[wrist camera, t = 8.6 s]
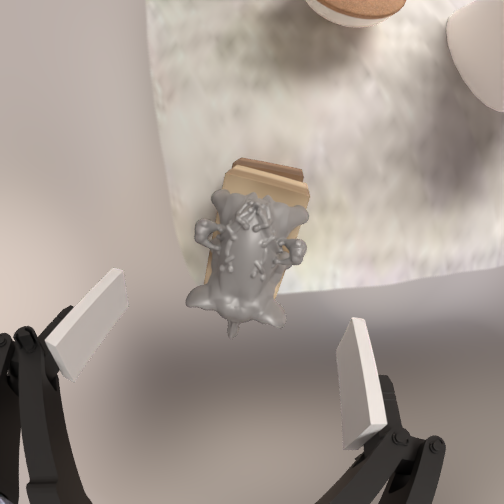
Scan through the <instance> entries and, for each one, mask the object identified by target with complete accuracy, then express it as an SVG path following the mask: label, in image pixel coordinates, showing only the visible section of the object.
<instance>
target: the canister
mask: <svg viewBox="0 0 504 504" xmlns="http://www.w3.org/2000/svg"><path fill="white" fill-rule="evenodd" d="M446 35H447V42H448V48H449V50H450V53H451V56H452V59H453V62H454V64H455V66H456V68H457V70H458V71H459V73H460V75H461V77H462V79H463V81H464V82H465V83H466V85H467V86H468V87H469V89H470V90H471V91H472V93H473V94H474V95H475V96H476V97H477V98H478V99H479V100H480V101H481V102H483V103H484V104H485V105H486V106H487V107H489V108H491V109H493V110H495V111H497V112H504V0H475V1H473V2H471V3H469V4H467V5H466V6H464V7H462V8H460V9H458V10H456V11H455V12H454V13H453V14H452V15H451V16H450V17H449V18H448V23H447V28H446Z"/></svg>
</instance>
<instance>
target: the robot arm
mask: <svg viewBox="0 0 504 504" xmlns="http://www.w3.org/2000/svg"><path fill="white" fill-rule="evenodd" d="M128 307H129V304H128V298H127V291H126V283H125V276H124V270H122V269H118V268H114V267H113V268H112V269H111V270H110V271H109V272H108V273H107V274H106V275H105V276H104V277H103V278H102V279H101V280H100V281H99V282H98V283H97V284H96V285H95V286H94V287H93V288H92V289H91V290H90V291H89V292H88V293H87V294H86V295H85V296H84V297H83V298H82V299H81V300H80V301H79V303H78V304H77V305H76V306H75V307H73V306H71V305H70V306H69V307H67V308H65V309H63V310H62V311H61V312H60V313H59V314H58V315H57V317H56V318H55V319H54V320H53V322H51V323H50V324H49V325H48V326H47V328H46V329H45V330H44V331H43V332H42V333H41V334H40V335H39V336H38V337H37V335H36V333H35V331H34V329H33V328H32V327H29V326H24V327H21V328H19V329H18V330H17V331H16V332H15V334H14V337H13V338H14V340H15V341H13V340H12V339H11V336H10V335H8V334H7V333H1V334H0V504H18V500H19V445H20V432H21V430H22V439H23V445H24V452H25V457H26V463H27V467H28V472H29V477H30V482H29V483H28V484H27V486H26V489H27V495H28V498H29V501H30V504H92V502H91V501H90V499H89V498H88V497H87V496H86V494H85V492H84V489H83V486H82V483H81V480H80V477H79V474H78V471H77V468H76V465H75V461H74V458H73V454H72V450H71V446H70V442H69V438H68V434H67V430H66V424H65V419H64V413H63V408H62V401H61V396H60V387H59V378H58V375H57V373H58V372H59V370H60V371H61V373H62V375H63V377H65V378H67V379H69V380H70V381H72V382H75V381H76V379H77V378H78V376H79V375H80V373H81V372H82V370H83V369H84V367H85V366H86V364H87V363H88V362H89V360H90V359H91V357H92V356H93V354H94V353H95V352H96V350H97V349H98V347H99V346H100V345H101V343H102V342H103V340H104V339H105V338H106V336H107V335H108V333H109V332H110V331H111V329H112V328H113V327H114V325H115V324H116V323H117V321H118V320H119V319H120V317H121V316H122V315H123V313H124V312H125V311H126V309H127V308H128ZM336 358H337V367H338V377H339V388H340V402H341V416H342V436H343V450H358V449H359V448H360V447H362V446H363V445H364V452H363V453H362V454H360V455H359V456H358V457H356V458H355V460H356V461H355V462H354V463H353V464H352V466H351V467H350V468H349V469H348V470H347V471H346V473H345V474H344V475H343V476H342V477H341V478H340V479H339V480H338V481H337V482H336V483H335V484H334V486H332V487H331V488H330V489H329V491H328V492H327V493H326V494H325V495H323V497H322V498H321V499H319V500H318V501H317V502H316V503H315V504H370V503H371V502H372V501H373V499H374V498H375V497H376V495H377V494H378V493H379V491H380V490H381V489H382V487H383V486H384V485H385V483H386V481H388V483H387V485H386V488H385V490H384V492H383V495H382V497H381V499H380V501H379V503H378V504H432V501H433V498H434V495H435V491H436V488H437V484H438V481H439V477H440V473H441V469H442V465H443V459H444V455H445V450H446V445H445V443H444V441H443V440H442V438H440V437H439V436H431V437H429V438H428V439H426V440H423V439H419V438H415V437H412V436H410V434H409V432H408V431H407V430H406V429H404V428H402V425H401V419H400V415H399V410H398V405H397V401H396V396H395V394H394V393H395V391H394V387H393V383H392V382H391V380H390V379H389V377H388V376H387V375H378V372H377V368H376V363H375V359H374V355H373V351H372V346H371V342H370V338H369V335H368V331H367V327H366V323H365V319H360V318H354V317H352V319H351V321H350V323H349V325H348V327H347V329H346V331H345V334H344V335H343V337H342V339H341V341H340V344H339V345H338V348H337V350H336ZM7 372H8V374H7ZM388 479H389V480H388Z"/></svg>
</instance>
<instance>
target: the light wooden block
mask: <svg viewBox="0 0 504 504" xmlns="http://www.w3.org/2000/svg"><path fill="white" fill-rule="evenodd" d="M222 189H226V190H228V191H229V192H230V194H232V193H239V194H242V195H248V194H250V193H252V192H255V193H256V194H257V196H258V198H261V199H263V198H264V197H265V196H266V195H269V196H271V198H272V199H273V200H274V201H275V202H281V203H285V204H287V205H288V206H289V207H294V206H295V205H301V206H303V207H304V208H305V209H306V208H307V205H308V202H309V198H310V194H309V190H308V186H307V184H306V183H303V182H299V181H296V180H293V179H289V178H286V177H282V176H279V175H275V174H271V173H268V172H264V171H260V170H256V169H252V168H248V167H245V166H240V165H236V166H235V167H233V168H232V169H231V170H229V171H228V172H227V173H225V178H224V182H223V187H222ZM215 223H216V224H220V219H219V214H218V211H217V216H216V221H215ZM300 226H301V225H299V226H297V227H296V228H294V229H293V230H292V231H291V232H290V234H289V235H288V237H287V238H286V239H296V238H297V235H298V232H299V229H300ZM218 234H219V235H220V232H219V231H215V232H213V236H212V239H214V238H216V236H217V235H218ZM282 249H283V251H286V252H288V253H289V250H288V249H287V248H286V246H284V245H283V246H282ZM211 261H212V252H211V251H210V252H209V258H208V263H207V269H206V275H205V280H204V284H206V283H208V280H209V278H210V275H211V273H212V268H211ZM284 273H285V270H284V272H283V274H282V278H283V276H284ZM282 278H281V280H280V282H279V283H278V284H277V286H276V288H275V293H274V296H273V298H274V299H275V298H276V295H277V292H278V290H279V287H280V284H281V281H282Z"/></svg>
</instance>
